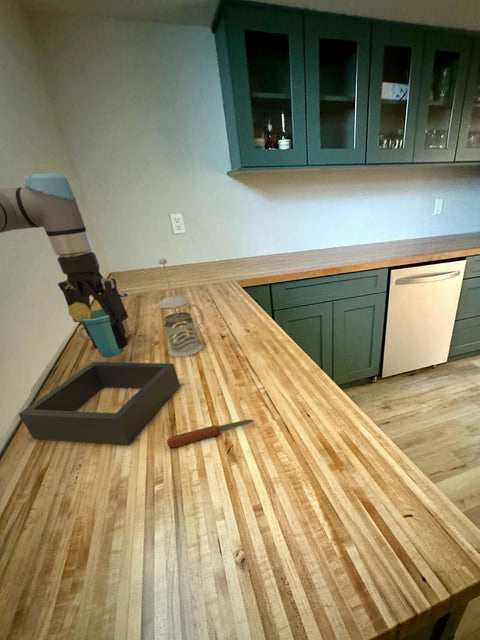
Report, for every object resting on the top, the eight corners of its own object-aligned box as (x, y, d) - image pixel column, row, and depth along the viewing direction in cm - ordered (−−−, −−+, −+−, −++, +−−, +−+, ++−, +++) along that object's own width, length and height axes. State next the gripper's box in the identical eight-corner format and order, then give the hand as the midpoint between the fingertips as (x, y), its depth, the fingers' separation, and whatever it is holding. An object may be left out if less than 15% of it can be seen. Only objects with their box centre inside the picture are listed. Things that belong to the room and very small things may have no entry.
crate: (33, 438, 65) (18, 413, 62) (102, 383, 82) (93, 361, 79) (129, 445, 61) (117, 419, 58) (180, 386, 78) (173, 363, 75)
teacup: (127, 331, 111) (119, 308, 107) (137, 340, 104) (129, 316, 100) (81, 345, 104) (70, 320, 100) (88, 356, 96) (76, 330, 92)
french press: (165, 347, 98) (139, 258, 86) (204, 337, 102) (185, 252, 90) (170, 360, 90) (143, 265, 78) (213, 349, 95) (193, 257, 82)
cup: (145, 341, 93) (127, 287, 85) (144, 352, 86) (125, 295, 79) (89, 352, 89) (65, 297, 81) (84, 364, 82) (58, 306, 75)
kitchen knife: (169, 450, 59) (166, 441, 58) (169, 445, 61) (166, 436, 60) (255, 426, 63) (254, 418, 62) (254, 422, 65) (252, 414, 64)
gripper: (123, 248, 77) (153, 340, 88) (52, 252, 80) (89, 340, 92) (102, 255, 70) (136, 353, 82) (25, 258, 74) (68, 352, 85)
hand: (111, 346), depth 87 cm, fingers closed on cup, 6 cm apart
